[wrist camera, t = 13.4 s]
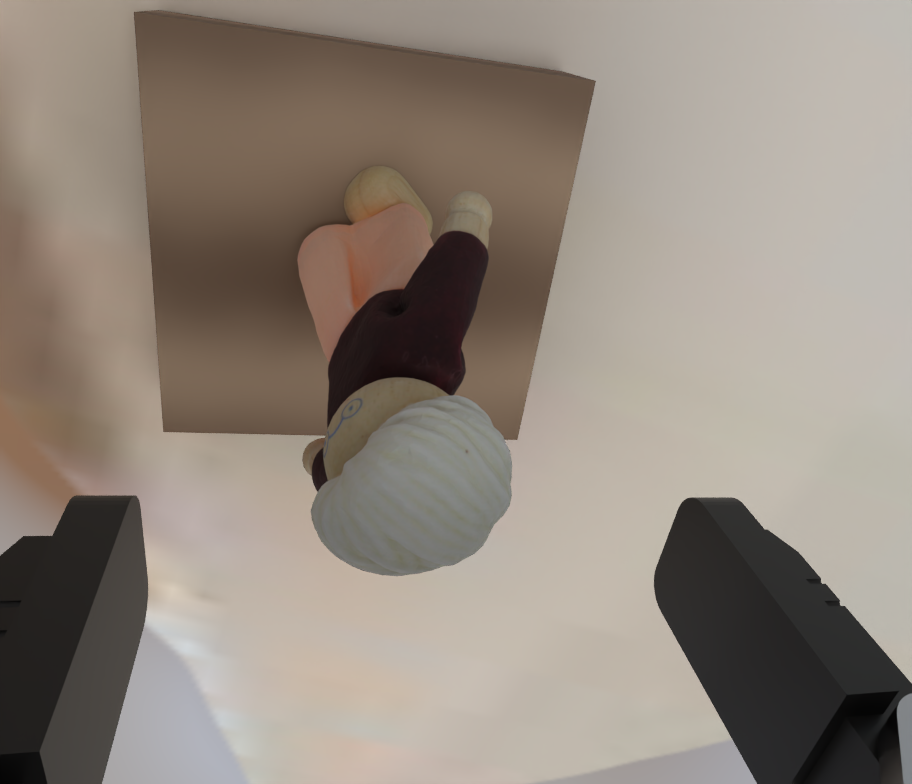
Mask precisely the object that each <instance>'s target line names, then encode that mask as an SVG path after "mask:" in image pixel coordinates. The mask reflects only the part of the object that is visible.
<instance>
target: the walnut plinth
mask: <svg viewBox="0 0 912 784" xmlns="http://www.w3.org/2000/svg"><path fill="white" fill-rule="evenodd" d="M134 20H135V34H136V48H137V62H138V77H139V91H140V105H141V119H142V133H143V148H144V162H145V176H146V190H147V205H148V219H149V233H150V247H151V262H152V276H153V290H154V304H155V318H156V333H157V347H158V361H159V375H160V390H161V404H162V418H163V432H191V433H236V434H281V435H326V433H327V430H328V428H327V409H328V393H329V379H328V365H329V362H328V360H327V358H326V356H325V354H324V352H323V349H322V346H321V343H320V340H319V337H318V335H317V332H316V327H315V323H314V319H313V317H312V314H311V311H310V309H309V307H308V304H307V300H306V297H305V293H304V290H303V286H302V283H301V280H300V277H299V268H298V261H297V259H298V253H299V250H300V247H301V245H302V243H303V241H304V239H305V238H306V237H307V236H308V235H310V234H311V233H312V232H313V231H315V230H316V229H317V228H319V227H322V226H325V225H334V224H341V225H349V226H350V225H353V224H352V223H351V221H350V220H349V219H348V217H347V215H346V212H345V208H344V196H345V192H346V189H347V187H348V185H349V184H350V183H351V182H352V180H353V179H354V178H355V177H356V176H357V175H358V174H359V173H360V172H361V171H363V170H365V169H367V168H369V167H372V166H386V167H389V168H392V169H394V170H396V171H397V172H398V173H400V174H401V175H402V176H403V177H404V179H405V180H406V181H407V182H408V183H409V185H410V186H411V187H412V189H413V190H414V191H415V193H416V194H417V195H418V197H419V198H420V199H421V201H422V202H423V203H424V205H425V206H426V207H427V209H428V210H429V212H430V214H431V217H432V221H433V226H432V231H431V233H430V237H431V239H432V242H433V245H434V244H435V242H436V241H437V239H438V238H439V234H440V230H441V227H442V225H443V223H444V222H445V212H446V207H447V205H448V203H449V201H450V200H451V199H452V198H453V197H454V196H455V195H457V194H458V193H460V192H463V191H473V192H478V193H479V194H481V195H483V196H484V197H485V198H486V199H487V201H488V202H489V204H490V206H491V208H492V223H491V226H490V228H489V241H488V248H487V251H488V255H489V261H488V266H487V270H486V273H485V276H484V279H483V283H482V286H481V290H480V293H479V297H478V302H477V307H476V310H475V313H474V316H473V319H472V321H471V324H470V326H469V328H468V330H467V332H466V335H465V337H464V339H463V342H462V347H461V349H462V352H463V355H464V359H465V367H466V373H465V376H464V379H463V381H462V383H461V385H460V386H459V388H458V389H457V391H456V392H455V394H454V395H457V396H462V397H465V398H467V399H469V400H471V401H473V402H475V403H476V404H477V405H478V406H479V407H480V408H481V409H482V410H483V411H485V412H486V414H487V415H488V416H489V417H490V419H491V422H492V424H493V426H494V428H496V429H497V430H498V431H499V432H500V433H501V434H502V436H503V437H504V439H506V440H517V438H518V434H519V429H520V424H521V420H522V415H523V411H524V406H525V402H526V397H527V392H528V388H529V383H530V379H531V374H532V370H533V365H534V360H535V356H536V351H537V347H538V342H539V338H540V333H541V328H542V324H543V319H544V315H545V310H546V306H547V301H548V296H549V292H550V287H551V283H552V278H553V274H554V269H555V265H556V260H557V255H558V251H559V246H560V242H561V237H562V233H563V228H564V223H565V219H566V214H567V210H568V205H569V201H570V196H571V191H572V187H573V182H574V178H575V173H576V169H577V164H578V159H579V155H580V150H581V146H582V141H583V137H584V132H585V127H586V123H587V118H588V114H589V109H590V105H591V100H592V95H593V91H594V86H595V82H596V81H593V80H590V79H586V78H583V77H580V76H576V75H573V74H569V73H566V72H562V71H555V70H549V69H542V68H536V67H529V66H522V65H516V64H509V63H503V62H496V61H489V60H483V59H476V58H470V57H463V56H456V55H450V54H443V53H437V52H430V51H423V50H417V49H410V48H404V47H397V46H390V45H384V44H377V43H371V42H364V41H357V40H351V39H344V38H337V37H331V36H324V35H318V34H311V33H304V32H298V31H291V30H285V29H278V28H271V27H265V26H258V25H252V24H245V23H238V22H232V21H225V20H219V19H212V18H205V17H199V16H192V15H186V14H179V13H172V12H166V11H159V10H155V11H141V12H134ZM454 395H453V396H454Z"/></svg>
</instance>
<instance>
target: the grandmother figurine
mask: <svg viewBox="0 0 912 784" xmlns="http://www.w3.org/2000/svg"><path fill="white" fill-rule="evenodd" d="M344 208H345V212H346V215H347V217H348V219H349V220H350V221H351V223H352V224H353V225H350V226H349V225H341V224H334V225H325V226H322V227H319V228H317V229H316V230H315V231H313V232H312V233H311V234H310V235H308V236H307V237H306V238H305V239H304V241H303V243H302V245H301V247H300V250H299V253H298V259H297V261H298V268H299V277H300V280H301V283H302V286H303V290H304V293H305V297H306V300H307V304H308V307H309V309H310V311H311V314H312V317H313V319H314V323H315V327H316V332H317V335H318V337H319V340H320V343H321V346H322V349H323V352H324V354H325V356H326V358H327V360H328V362H329V365H328V379H329V393H328V409H327V428H328V430H327V433H326V437H325V438H320V439H317V440H314V441H313V442H311V443H310V444H309V445H308V446H307V447H306V449H305V451H304V453H303V465H304V468H305V469H306V471H307V472H308V473H309V474H310V475H311V476H312V479H313V483H314V486H315V488H316V490H317V491H318V493H317V495H316V497H315V500H314V502H313V505H312V509H311V515H312V521H313V524H314V527H315V529H316V531H317V533H318V536H319V538H320V539H321V541H322V542H323V544H324V545H325V546H326V547H327V548H328V549H329V550H330V551H331V552H332V553H333V554H334V555H335V556H337V557H338V558H339V559H341V560H343V561H344V562H346V563H348V564H349V565H351V566H353V567H356V568H358V569H360V570H363V571H367V572H371V573H375V574H380V575H389V576H403V575H409V574H418V573H422V572H426V571H431V570H434V569H437V568H440V567H442V566H449V565H454V564H456V563H458V562H460V561H462V560H463V559H465V558H467V557H469V556H471V555H473V554H474V553H475V552H476V551H478V550H479V549H480V548H481V547H482V546H483V544H484V543H485V541H486V539H487V537H488V535H489V533H490V531H491V529H492V528H493V526H494V524H495V523H496V522H497V521H498V520H499V519H500V518H501V517H502V516H503V515H504V513H505V512H506V510H507V509H508V507H509V505H510V500H511V496H512V494H511V486H510V482H511V472H512V461H511V454H510V451H509V449H508V447H507V445H506V442H505V440H504V437H503V436H502V434H501V433H500V432H499V431H498V430H497V429H496V428H494V426H493V424H492V422H491V419H490V417H489V416H488V415H487V414H486V412H485V411H483V410H482V409H481V408H480V407H479V406H478V405H477V404H476V403H475V402H473V401H471V400H469V399H467V398H465V397H462V396H457V395H454V394H455V392H456V391H457V389H458V388H459V386H460V385H461V383H462V381H463V379H464V376H465V373H466V367H465V359H464V355H463V352H462V349H461V347H462V342H463V339H464V337H465V335H466V332H467V330H468V328H469V326H470V324H471V321H472V319H473V316H474V313H475V310H476V307H477V302H478V297H479V293H480V290H481V286H482V283H483V279H484V276H485V273H486V270H487V266H488V261H489V255H488V251H487V248H488V241H489V228H490V226H491V223H492V208H491V206H490V204H489V202H488V201H487V199H486V198H485V197H484V196H483V195H481V194H479V193H478V192H473V191H463V192H460V193H458V194H457V195H455V196H454V197H453V198H452V199H451V200H450V201H449V203H448V205H447V207H446V212H445V222H444V223H443V225H442V227H441V230H440V234H439V238H438V239H437V241H436V242H435V244H434V245H433V242H432V239H431V237H430V233H431V231H432V226H433V221H432V217H431V214H430V212H429V210H428V209H427V207H426V206H425V205H424V203H423V202H422V201H421V199H420V198H419V197H418V195H417V194H416V193H415V191H414V190H413V189H412V187H411V186H410V185H409V183H408V182H407V181H406V180H405V179H404V177H403V176H402V175H401V174H400V173H398V172H397V171H396V170H394V169H392V168H389V167H386V166H372V167H369V168H367V169H365V170H363V171H361V172H360V173H359V174H358V175H357V176H356V177H355V178H354V179H353V180H352V182H351V183H350V184H349V185H348V187H347V189H346V192H345V196H344ZM453 395H454V396H453Z"/></svg>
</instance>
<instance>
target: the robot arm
mask: <svg viewBox="0 0 912 784" xmlns="http://www.w3.org/2000/svg"><path fill="white" fill-rule="evenodd" d="M654 589H655V596H656V600H657V603H658V606H659V608H660V610H661V612H662V614H663V616H664V618H665V619H666V621H667V623H668V625H669V627H670V628H671V630H672V632H673V634H674V636H675V637H676V639H677V641H678V643H679V644H680V646H681V648H682V650H683V652H684V653H685V655H686V657H687V659H688V661H689V662H690V664H691V666H692V668H693V670H694V671H695V673H696V675H697V677H698V678H699V680H700V682H701V684H702V686H703V687H704V689H705V691H706V693H707V695H708V696H709V698H710V700H711V702H712V704H713V705H714V707H715V709H716V711H717V712H718V714H719V716H720V718H721V720H722V721H723V723H724V725H725V727H726V729H727V730H728V732H729V734H730V736H731V738H732V739H733V741H734V743H735V745H736V746H737V748H738V750H739V752H740V754H741V755H742V757H743V759H744V761H745V762H746V764H747V766H748V768H749V770H750V772H751V773H752V775H753V777H754V779H755V780H756V782H757V784H912V684H911V682H910V681H909V680H908V679H907V678H906V677H905V675H904V674H903V673H902V672H901V671H900V670H899V669H898V667H897V666H896V665H895V664H894V663H893V662H892V660H891V659H890V658H889V657H888V656H887V655H886V653H885V652H884V651H883V650H882V649H881V648H880V646H879V645H878V644H877V643H876V642H875V641H874V639H873V638H872V637H871V636H870V635H869V634H868V633H867V631H866V630H865V629H864V628H863V627H862V626H861V624H860V623H859V622H858V621H857V620H856V619H855V617H854V616H853V615H852V614H851V613H850V612H849V610H848V609H847V608H846V607H845V606H840V603H839V602H840V600H839V599H838V598H837V597H836V595H835V594H834V593H833V592H832V591H831V590H830V588H829V587H828V586H827V585H826V584H822V583H821V578H820V577H819V576H818V575H817V573H816V572H815V571H814V570H813V569H812V568H811V566H810V565H809V564H808V563H807V562H806V561H805V559H804V558H803V557H802V556H801V555H800V554H799V552H797V551H796V550H795V549H793V548H792V547H790V546H789V545H788V544H786V543H785V542H784V541H782V540H781V539H779V538H778V537H777V536H775V535H774V534H773V533H771V532H770V531H769V530H765V529H764V528H763V527H762V526H761V525H760V523H759V522H758V521H757V520H756V519H755V517H754V516H753V515H752V514H751V513H750V512H749V510H748V509H747V508H746V507H745V506H744V504H743V503H742V502H741V501H739V500H738V499H735V498H687V499H686V500H684V501H683V502H682V503H681V505H680V507H679V509H678V511H677V514H676V517H675V519H674V522H673V525H672V527H671V530H670V532H669V535H668V538H667V540H666V543H665V546H664V548H663V551H662V554H661V556H660V559H659V562H658V564H657V567H656V570H655V575H654ZM147 600H148V577H147V567H146V557H145V548H144V538H143V528H142V518H141V509H140V503H139V500H138V498H137V496H74V497H72V498H71V500H70V501H69V503H68V505H67V507H66V509H65V511H64V513H63V515H62V517H61V519H60V521H59V523H58V525H57V528H56V530H55V532H54V534H53V536H23V537H22V538H21V539H20V540H18V541H17V542H16V543H15V544H14V545H13V546H11V547H10V548H9V549H8V550H7V551H5V552H4V553H3V554H2V555H1V556H0V784H102V781H103V777H104V773H105V770H106V766H107V762H108V758H109V755H110V751H111V747H112V744H113V740H114V736H115V732H116V728H117V725H118V721H119V717H120V714H121V710H122V706H123V702H124V699H125V695H126V691H127V687H128V684H129V680H130V676H131V672H132V669H133V665H134V661H135V658H136V654H137V650H138V646H139V643H140V638H141V635H142V631H143V627H144V623H145V617H146V610H147Z"/></svg>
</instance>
